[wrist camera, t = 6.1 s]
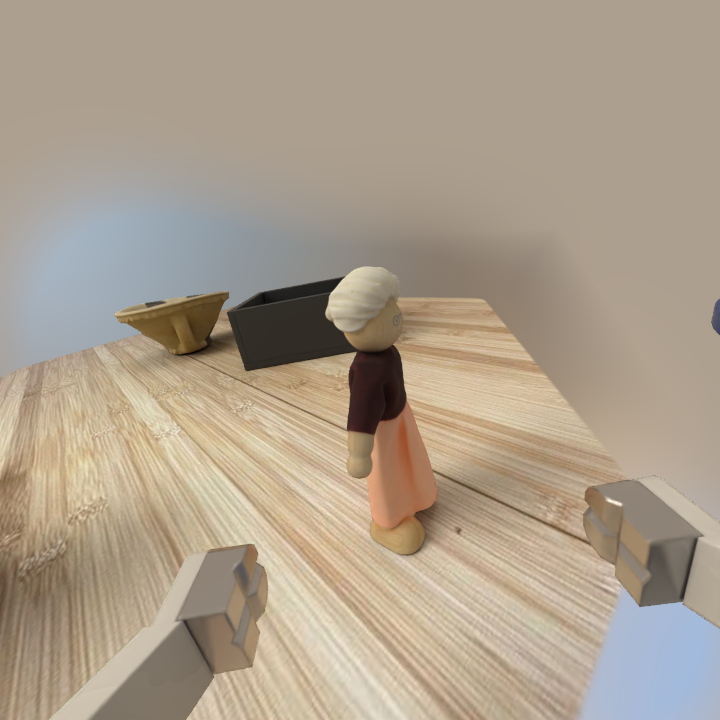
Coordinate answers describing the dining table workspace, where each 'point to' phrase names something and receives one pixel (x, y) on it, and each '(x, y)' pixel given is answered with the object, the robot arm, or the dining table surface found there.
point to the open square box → (287, 326)
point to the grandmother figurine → (382, 410)
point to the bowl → (177, 320)
